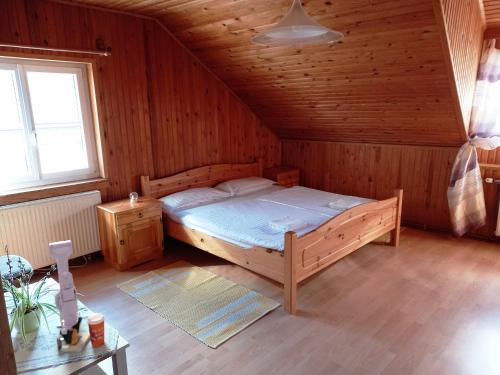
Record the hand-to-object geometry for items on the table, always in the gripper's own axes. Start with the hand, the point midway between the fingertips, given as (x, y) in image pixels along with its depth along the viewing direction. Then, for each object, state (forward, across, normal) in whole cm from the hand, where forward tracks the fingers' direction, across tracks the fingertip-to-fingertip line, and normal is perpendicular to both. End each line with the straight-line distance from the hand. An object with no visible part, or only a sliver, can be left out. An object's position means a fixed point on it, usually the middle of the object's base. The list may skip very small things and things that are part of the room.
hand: (72, 338), depth 171 cm
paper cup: (+3, 0, +12) cm, 12 cm away
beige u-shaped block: (+3, 0, +2) cm, 3 cm away
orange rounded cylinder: (+3, 0, 0) cm, 3 cm away
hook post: (+3, +3, -5) cm, 6 cm away
